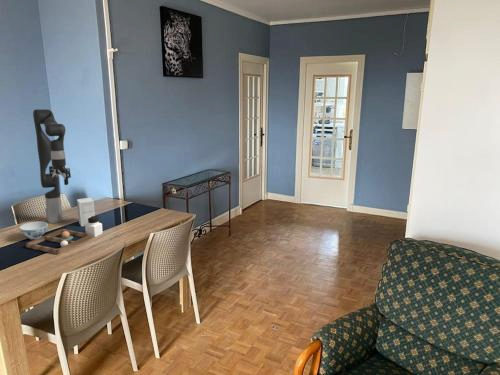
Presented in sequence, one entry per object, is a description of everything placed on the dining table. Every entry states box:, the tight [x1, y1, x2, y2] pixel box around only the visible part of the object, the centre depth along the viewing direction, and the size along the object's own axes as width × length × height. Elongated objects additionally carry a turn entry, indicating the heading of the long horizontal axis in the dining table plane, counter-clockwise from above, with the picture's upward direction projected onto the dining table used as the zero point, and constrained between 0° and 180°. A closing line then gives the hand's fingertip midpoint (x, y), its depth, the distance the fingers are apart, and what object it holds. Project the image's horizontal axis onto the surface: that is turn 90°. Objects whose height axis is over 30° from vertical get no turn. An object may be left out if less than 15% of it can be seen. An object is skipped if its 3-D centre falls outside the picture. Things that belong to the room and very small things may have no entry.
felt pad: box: [59, 235, 74, 241], centre depth 230 cm, size 8×8×1 cm
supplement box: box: [76, 197, 96, 227], centre depth 254 cm, size 10×9×17 cm
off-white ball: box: [59, 240, 68, 248], centre depth 217 cm, size 4×4×4 cm
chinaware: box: [19, 220, 49, 240], centre depth 229 cm, size 15×15×8 cm
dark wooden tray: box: [24, 228, 93, 255], centre depth 223 cm, size 24×26×2 cm
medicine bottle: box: [84, 215, 104, 238], centre depth 235 cm, size 7×7×12 cm
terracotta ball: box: [61, 231, 71, 238], centre depth 229 cm, size 4×4×4 cm
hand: (60, 183), depth 229 cm, fingers open, 8 cm apart
